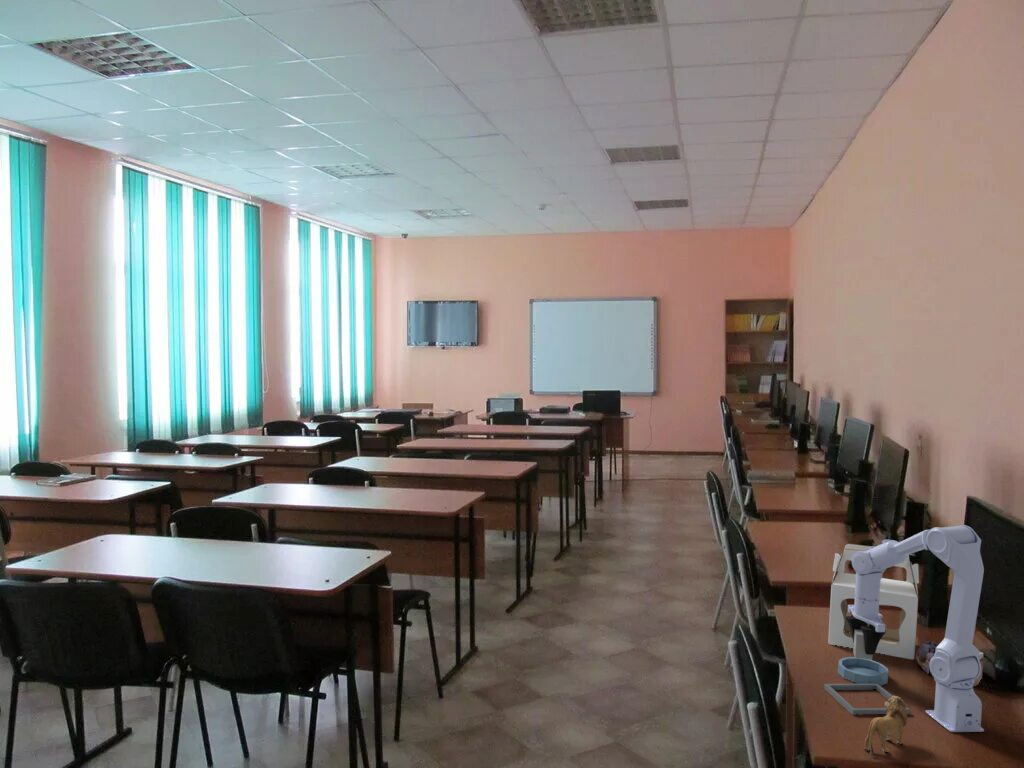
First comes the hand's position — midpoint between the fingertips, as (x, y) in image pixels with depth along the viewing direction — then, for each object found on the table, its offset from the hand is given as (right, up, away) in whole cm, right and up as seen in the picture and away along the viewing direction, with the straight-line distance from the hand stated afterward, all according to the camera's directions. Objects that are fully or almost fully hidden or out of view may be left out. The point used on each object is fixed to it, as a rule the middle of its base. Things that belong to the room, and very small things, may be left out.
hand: (864, 649), depth 202 cm
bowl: (0, -7, 0) cm, 7 cm away
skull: (+20, -8, +6) cm, 23 cm away
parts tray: (-6, -8, -14) cm, 17 cm away
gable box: (+12, -6, +23) cm, 26 cm away
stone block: (0, -2, 0) cm, 2 cm away
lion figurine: (-11, -9, -34) cm, 37 cm away
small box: (+26, -8, -1) cm, 27 cm away
